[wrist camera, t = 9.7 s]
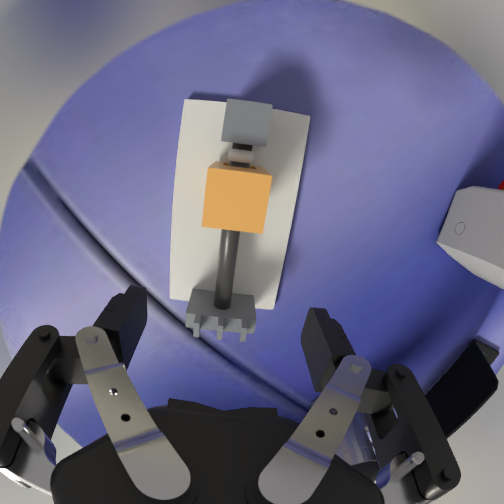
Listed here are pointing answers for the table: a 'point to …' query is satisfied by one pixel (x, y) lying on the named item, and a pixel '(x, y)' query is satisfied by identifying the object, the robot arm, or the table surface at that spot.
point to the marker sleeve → (236, 197)
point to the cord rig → (228, 241)
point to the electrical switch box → (477, 232)
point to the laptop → (464, 387)
